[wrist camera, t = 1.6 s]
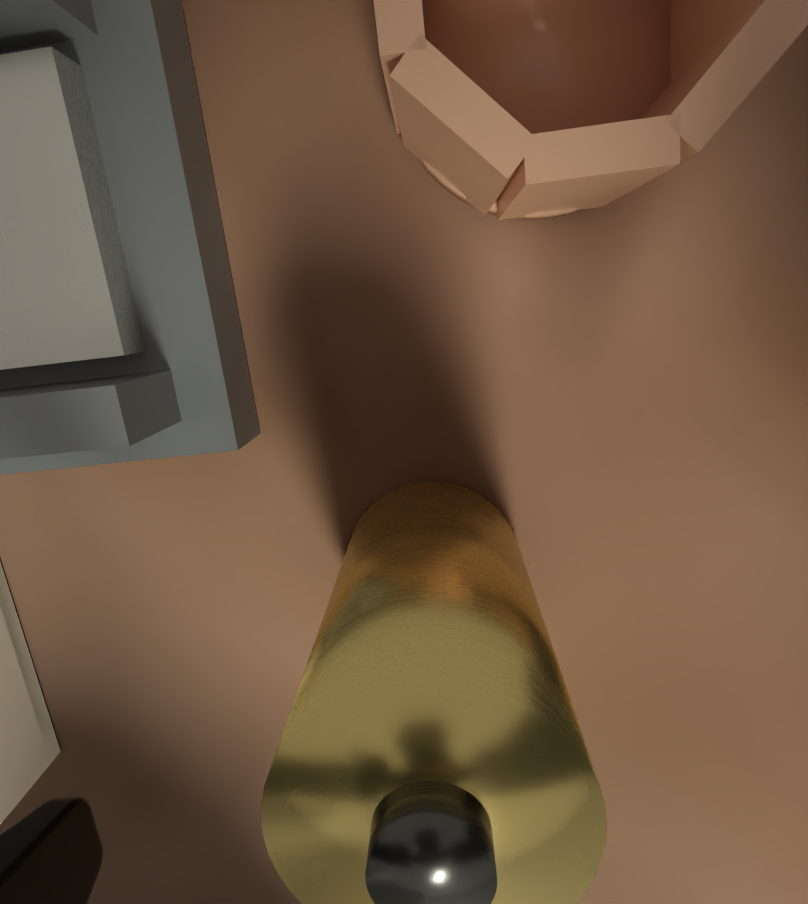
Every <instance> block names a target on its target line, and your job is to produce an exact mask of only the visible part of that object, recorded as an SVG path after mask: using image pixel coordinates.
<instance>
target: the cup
mask: <svg viewBox="0 0 808 904" xmlns="http://www.w3.org/2000/svg"><path fill="white" fill-rule="evenodd" d="M374 9H375V18H376V27H377V36H378V46H379V55H380V60H381V64H382V69H383V73H384V78H385V82H386V86H387V91H388V95H389V100H390V104H391V109H392V113H393V118H394V122H395V127H396V131H397V134H400V133H401V135H402V140H403V145H404V147H405V148H406V149H407V150H408V151H409V152H410V153H412V154H413V155H414V156H415V157H416V158H417V159H418V160H419V162H420V163H421V164H422V165H423V167H424V168H425V169H426V171H427V172H428V173H429V174H430V175H431V176H432V177H433V178H434V179H435V180H436V181H437V182H438V183H439V184H440V185H441V186H442V187H443V188H444V189H446V190H447V191H448V192H450V193H451V194H452V195H454V196H455V197H456V198H458V199H459V200H461V201H463V202H465V203H467V204H469V205H470V206H472V207H474V208H475V209H477V210H478V211H479V212H480V213H481V214H482V215H484V216H485V215H486V214H487V213H490V214H493V215H497V220H504V219H512V218H514V219H526V220H530V219H547V218H552V217H557V216H562V215H566V214H569V213H572V212H575V211H578V210H582V209H589V208H597V207H603V206H605V205H607V204H608V203H610V202H612V201H614V200H616V199H618V198H619V197H621V196H623V195H625V194H627V193H629V192H630V191H632V190H634V189H636V188H638V187H639V186H641V185H643V184H645V183H647V182H649V181H650V180H652V179H654V178H656V177H658V176H659V175H661V174H663V173H665V172H667V171H669V170H670V169H672V168H674V167H676V166H678V165H680V163H682V162H684V161H686V160H687V159H689V158H691V157H693V156H695V155H697V154H698V153H699V152H700V151H701V150H702V149H703V148H704V147H705V145H706V144H707V143H708V142H709V141H710V140H711V138H712V137H713V136H714V135H715V134H716V132H717V131H718V130H719V129H720V128H721V127H722V125H723V124H724V123H725V122H726V121H727V120H728V118H729V117H730V116H731V115H732V114H733V112H734V111H735V110H736V109H737V108H738V107H739V105H740V104H741V103H742V102H743V101H744V100H745V98H746V97H747V96H748V95H749V94H750V92H751V91H752V90H753V89H754V88H755V87H756V85H757V84H758V83H759V82H760V81H761V79H762V78H763V77H764V76H765V75H766V74H767V72H768V71H769V70H770V69H771V68H772V67H773V65H774V64H775V63H776V62H777V61H778V59H779V58H780V57H781V56H782V55H783V54H784V52H785V51H786V50H787V49H788V48H789V47H790V45H791V44H792V43H793V42H794V41H795V39H796V38H797V37H798V36H799V35H800V34H801V32H802V31H803V30H804V29H805V28H806V27H807V25H808V0H374Z"/></svg>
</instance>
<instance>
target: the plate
mask: <svg viewBox="0 0 808 904" xmlns="http://www.w3.org/2000/svg"><path fill="white" fill-rule="evenodd" d="M145 351H146V349H145V344H144V340H143V336H142V331H141V327H140V322H139V318H138V313H137V309H136V305H135V300H134V296H133V291H132V287H131V283H130V278H129V274H128V269H127V265H126V260H125V256H124V252H123V247H122V243H121V238H120V234H119V229H118V225H117V221H116V216H115V212H114V207H113V203H112V198H111V194H110V190H109V185H108V181H107V176H106V172H105V167H104V163H103V159H102V154H101V150H100V145H99V141H98V136H97V132H96V128H95V123H94V119H93V114H92V110H91V105H90V101H89V97H88V92H87V88H86V83H85V79H84V75H83V70H82V66H80V65H79V64H77V63H76V62H74V61H73V60H71V59H70V58H68V57H66V56H65V55H63V54H62V53H60V52H59V51H57V50H56V49H54V48H53V47H45V48H39V49H33V50H27V51H21V52H15V53H8V54H2V55H0V370H3V369H11V368H20V367H28V366H37V365H45V364H54V363H63V362H71V361H80V360H88V359H97V358H105V357H114V356H122V355H129V354H134V353H140V352H145Z"/></svg>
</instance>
